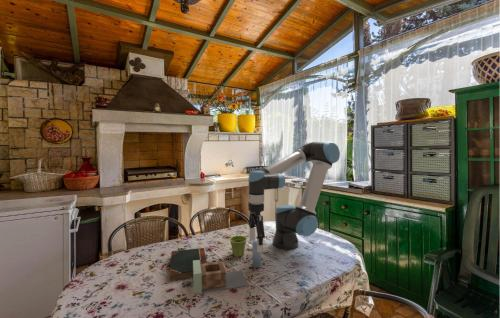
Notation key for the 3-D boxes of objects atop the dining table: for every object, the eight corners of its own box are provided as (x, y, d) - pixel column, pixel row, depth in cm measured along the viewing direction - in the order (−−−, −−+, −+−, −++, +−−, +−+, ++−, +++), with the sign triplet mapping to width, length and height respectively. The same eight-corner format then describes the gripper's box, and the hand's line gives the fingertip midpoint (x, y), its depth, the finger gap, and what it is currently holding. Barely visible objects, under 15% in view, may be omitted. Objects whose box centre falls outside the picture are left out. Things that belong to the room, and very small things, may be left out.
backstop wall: (200, 277, 112) (199, 259, 112) (201, 292, 101) (201, 273, 100) (193, 278, 112) (192, 260, 111) (194, 293, 100) (193, 274, 100)
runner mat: (241, 270, 118) (241, 270, 118) (248, 285, 105) (248, 285, 105) (199, 276, 113) (199, 275, 113) (201, 293, 100) (201, 292, 100)
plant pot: (244, 259, 130) (244, 242, 129) (227, 257, 132) (227, 241, 131) (248, 251, 139) (248, 236, 138) (232, 250, 141) (232, 235, 140)
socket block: (222, 273, 114) (222, 261, 114) (225, 285, 104) (225, 272, 104) (200, 277, 111) (199, 263, 111) (201, 289, 102) (201, 275, 101)
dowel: (259, 263, 125) (259, 240, 124) (261, 267, 121) (261, 243, 120) (251, 264, 124) (251, 241, 123) (253, 268, 120) (253, 244, 119)
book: (171, 257, 133) (169, 282, 109) (171, 250, 133) (168, 274, 109) (204, 253, 138) (209, 276, 114) (204, 247, 138) (209, 269, 113)
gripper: (242, 197, 131) (242, 237, 132) (255, 209, 107) (255, 257, 108) (256, 197, 133) (256, 236, 134) (272, 208, 109) (271, 255, 110)
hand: (255, 245), depth 121 cm, fingers open, 13 cm apart
